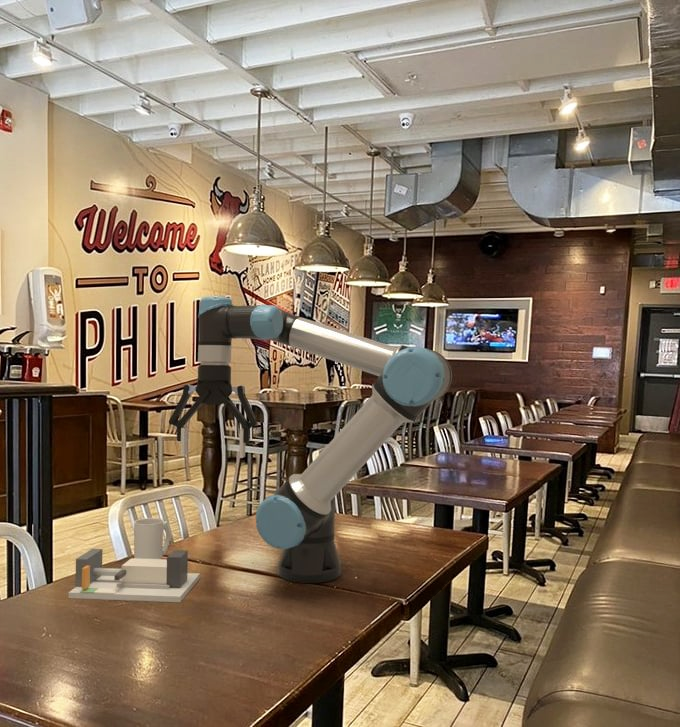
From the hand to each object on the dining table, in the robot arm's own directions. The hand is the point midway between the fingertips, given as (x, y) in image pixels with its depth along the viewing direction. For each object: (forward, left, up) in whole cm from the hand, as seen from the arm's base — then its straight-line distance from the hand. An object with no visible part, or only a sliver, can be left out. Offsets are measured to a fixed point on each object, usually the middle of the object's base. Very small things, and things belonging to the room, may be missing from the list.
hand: (213, 456), depth 147 cm
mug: (+16, -7, -29) cm, 34 cm away
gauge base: (+15, +6, -29) cm, 33 cm away
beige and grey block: (+11, +8, -27) cm, 30 cm away
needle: (+24, +12, -27) cm, 38 cm away
